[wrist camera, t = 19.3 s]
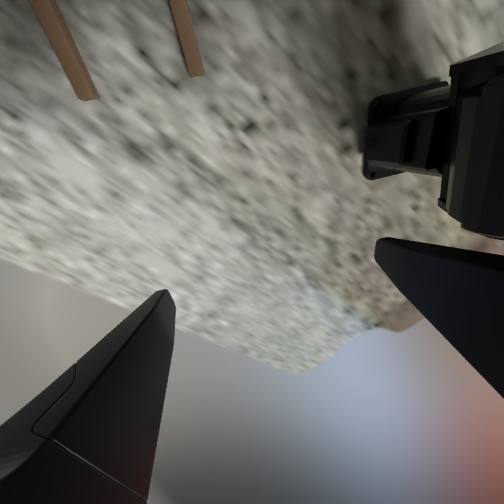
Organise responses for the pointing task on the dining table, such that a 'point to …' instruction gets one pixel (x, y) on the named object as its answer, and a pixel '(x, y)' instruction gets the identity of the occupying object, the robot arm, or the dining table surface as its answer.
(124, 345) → the robot arm
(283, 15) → the dining table surface
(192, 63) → the chute
